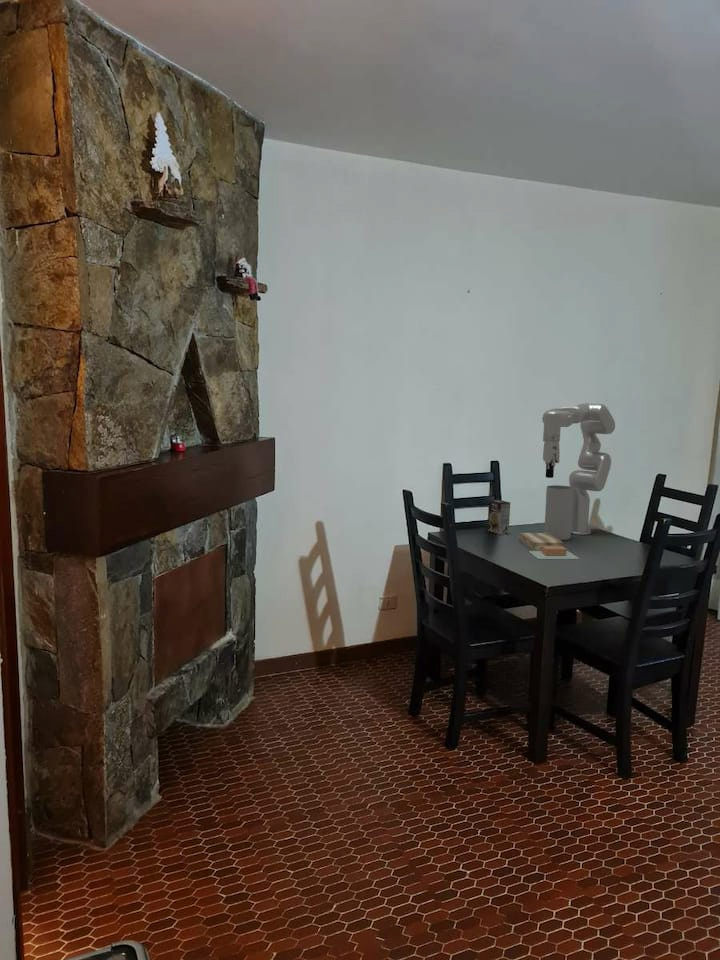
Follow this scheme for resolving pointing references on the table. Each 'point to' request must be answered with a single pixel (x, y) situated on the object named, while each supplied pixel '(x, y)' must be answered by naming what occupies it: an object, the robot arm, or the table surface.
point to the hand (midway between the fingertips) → (549, 477)
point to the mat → (541, 556)
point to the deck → (539, 540)
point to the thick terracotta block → (554, 550)
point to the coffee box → (499, 516)
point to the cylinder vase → (559, 511)
